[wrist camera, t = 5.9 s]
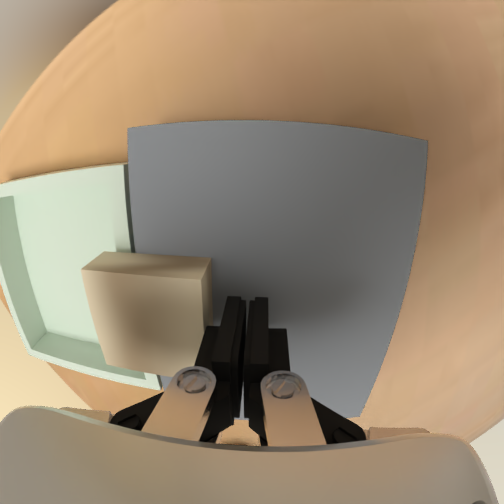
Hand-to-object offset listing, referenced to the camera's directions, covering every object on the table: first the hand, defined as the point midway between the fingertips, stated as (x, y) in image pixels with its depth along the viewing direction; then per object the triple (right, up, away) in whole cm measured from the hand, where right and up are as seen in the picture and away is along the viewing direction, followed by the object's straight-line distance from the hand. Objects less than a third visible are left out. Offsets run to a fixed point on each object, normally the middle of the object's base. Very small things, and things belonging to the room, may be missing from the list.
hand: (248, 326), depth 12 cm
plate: (+1, +2, +4) cm, 4 cm away
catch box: (-11, +2, +4) cm, 12 cm away
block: (-4, +1, +1) cm, 4 cm away
